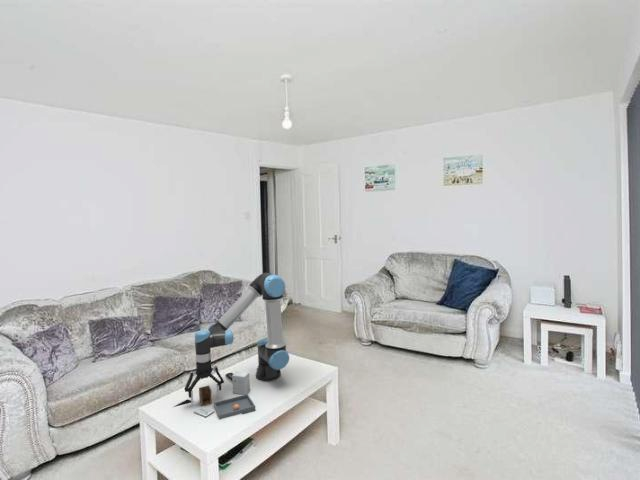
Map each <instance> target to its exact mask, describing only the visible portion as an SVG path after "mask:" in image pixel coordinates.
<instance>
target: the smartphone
mask: <svg viewBox="0 0 640 480" xmlns="http://www.w3.org/2000/svg"><path fill="white" fill-rule="evenodd" d="M193 403H195V401H194V400H193ZM188 404H192V403H191V399H185V400H183V401H181V402H179V403H178V404H176V405H174V406H173V408H176V407H178V406H179V407H180V406H184V405H188Z"/></svg>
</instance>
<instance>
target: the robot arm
mask: <svg viewBox="0 0 640 480" xmlns="http://www.w3.org/2000/svg"><path fill="white" fill-rule="evenodd" d="M285 291H286V283H285V281H284V279H283V278H282V277H280V275H277V274H273V273H270V272H263V273H260V274H259V275H258V276H257V277H255V278H254V280H252V282H251V283H250V284H249V285H248V288H247V289H246V290H245V292H244V293H243V294H242V295H240V296H239V298H238V299H237V300H236V301H235V302H234V304H232V305H231V306H230V307H229V308H228V309H227V311H226V312H225V313H224V314H223V315H222V316H221V317H220V318H219V319H218V320H217V321H216V322H215V323H212V324H210V325H209V326H208V328H207V329H201V330H197V331H196V332H195V333H194V345H195V346H194V347H195V365H196V366H195V368H196V369H195V371H192V370H191V371H190V372H189V377H188V379H187V382H186V384H185V386H184V392H187V393H188V398H189V399H190V400H191V403H190V404H191V405H194V402H193V401H194V391H193V389H194V388H195V387H196V385H197V384H198V382H199V381H200V380H204V379H208V377H209V378H210V379H212V381H214V382H215V383H216V396H217V398H218V399H220V391H221V390H222V384H225V380H224V378H223V377H222V375H221V373H220V371H219V369H218V366H217V365H215V366H214V367H212V353H211V349H213V348H218V347H223V346H228V345H231V344H233V343H234V333H233V331H232V330H231V329H230V328H231V327H232V325H233V324H235V322H236V321H237V320H238V319H239V318H240V317H241V316H242V314H243V313H244V312H245V311H246V310H247V309H248V308H249V307H250V306H251V305H252V304H253V303H254V302H255V301H256V300H257V298H261V297H262V300H263V301H264V303H265V316H266V330H267V331H266V333H267V334H266V335H267V337H266V338H262V339H260V340H258V341H257V360H258V364H257V367H256V372H255V378H256V380H258V381H259V382H260V381H262V382H271V381H276V380H278V379H279V378H280V377H281V376H282V374H281V373H282V371H281V370H282V369H284V368H285V367H286V366H287V365H288V363H290V362H289V361H290V355H289V352H287V347H286V345H287V344H286V342H285V341H284V340H283V339H284V338H283V322H282V307H281V306H282V305H281V303H282V302H281V300H283V297H284V292H285ZM212 372H214V373H216V375H217V377H218V378H219V379H220V380H219V379H218V378H217V377H216V376H214V374H212ZM195 375H196V376H195ZM194 376H195V378H194ZM193 378H194V380H193ZM192 380H193V381H192Z"/></svg>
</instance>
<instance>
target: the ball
mask: <svg viewBox="0 0 640 480" xmlns="http://www.w3.org/2000/svg"><path fill="white" fill-rule="evenodd" d="M233 409H234V410H235V411H236V410H239V405H238V404H235V405H234V407H233Z"/></svg>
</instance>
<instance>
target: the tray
mask: <svg viewBox="0 0 640 480" xmlns="http://www.w3.org/2000/svg"><path fill="white" fill-rule="evenodd" d="M235 404H238V405H239V410H236V411H235V410H234V409H233V407H234V405H235ZM213 408H214V410H215V414H216V415H217V418H218V419H219V420H222V419H225V418H226V419H227V418H230V417H234V416H237V415H240V414H241V415H245V414H249V413H253V412H255V411H256V410H257V409H256V405H255V403H254V401H253V400H252V398H251V397H250V395H249V394H248V393H247V394H246V395H239V396H235V397H230V398H227V399H223V400H219V401H214V402H213Z"/></svg>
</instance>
